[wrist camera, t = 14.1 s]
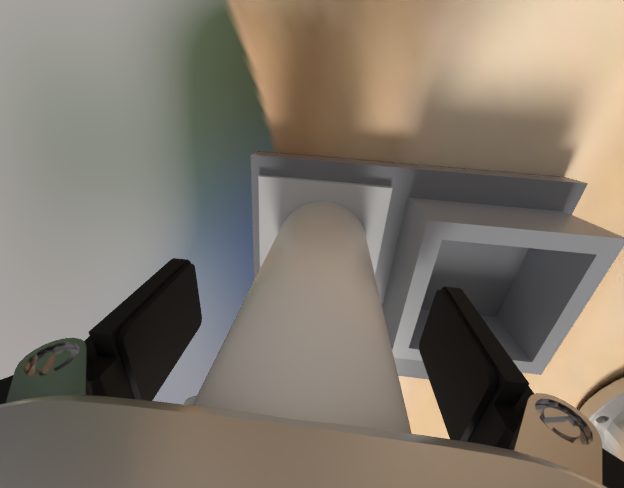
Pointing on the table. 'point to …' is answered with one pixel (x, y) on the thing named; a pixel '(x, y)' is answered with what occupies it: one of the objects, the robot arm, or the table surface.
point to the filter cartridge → (312, 332)
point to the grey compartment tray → (452, 244)
